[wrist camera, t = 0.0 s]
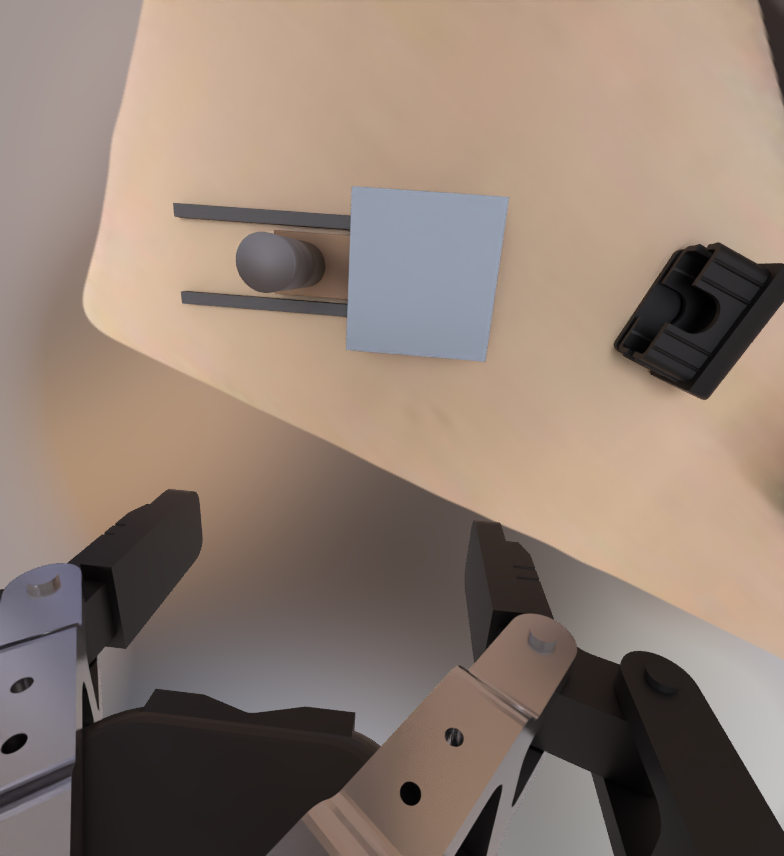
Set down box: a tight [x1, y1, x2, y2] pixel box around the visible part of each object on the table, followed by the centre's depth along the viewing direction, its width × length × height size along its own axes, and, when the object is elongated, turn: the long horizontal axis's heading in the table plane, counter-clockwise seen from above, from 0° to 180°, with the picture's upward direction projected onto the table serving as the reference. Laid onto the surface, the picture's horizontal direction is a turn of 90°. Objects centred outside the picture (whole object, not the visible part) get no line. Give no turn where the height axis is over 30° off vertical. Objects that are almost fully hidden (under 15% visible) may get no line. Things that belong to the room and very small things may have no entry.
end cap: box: [614, 242, 784, 400], centre depth 35 cm, size 10×7×7 cm
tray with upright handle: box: [236, 230, 350, 299], centre depth 33 cm, size 5×16×11 cm, turn 86°
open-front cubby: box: [346, 186, 509, 362], centre depth 34 cm, size 10×10×9 cm
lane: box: [173, 203, 351, 317], centre depth 38 cm, size 8×24×1 cm, turn 86°
